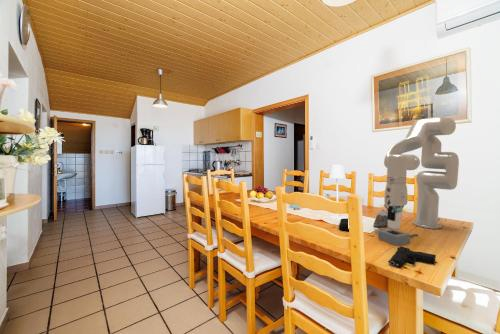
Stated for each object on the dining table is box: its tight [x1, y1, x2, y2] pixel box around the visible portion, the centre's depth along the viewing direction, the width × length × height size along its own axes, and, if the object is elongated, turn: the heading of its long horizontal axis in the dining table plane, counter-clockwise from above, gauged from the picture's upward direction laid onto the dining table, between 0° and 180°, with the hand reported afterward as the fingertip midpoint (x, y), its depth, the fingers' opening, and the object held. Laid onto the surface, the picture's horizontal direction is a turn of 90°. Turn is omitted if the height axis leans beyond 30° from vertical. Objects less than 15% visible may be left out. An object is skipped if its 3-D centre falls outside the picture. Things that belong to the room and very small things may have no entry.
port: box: [377, 227, 411, 247], centre depth 104 cm, size 9×9×4 cm
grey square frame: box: [374, 227, 387, 235], centre depth 112 cm, size 7×7×2 cm
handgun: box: [387, 245, 437, 269], centre depth 83 cm, size 3×17×12 cm
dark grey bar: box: [410, 233, 419, 239], centre depth 108 cm, size 11×1×1 cm, turn 112°
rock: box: [373, 209, 388, 228], centre depth 126 cm, size 16×8×10 cm, turn 122°
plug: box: [386, 206, 403, 230], centre depth 103 cm, size 4×4×10 cm
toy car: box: [338, 218, 350, 232], centre depth 123 cm, size 8×17×5 cm, turn 153°
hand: (394, 219), depth 103 cm, fingers closed on plug, 3 cm apart
